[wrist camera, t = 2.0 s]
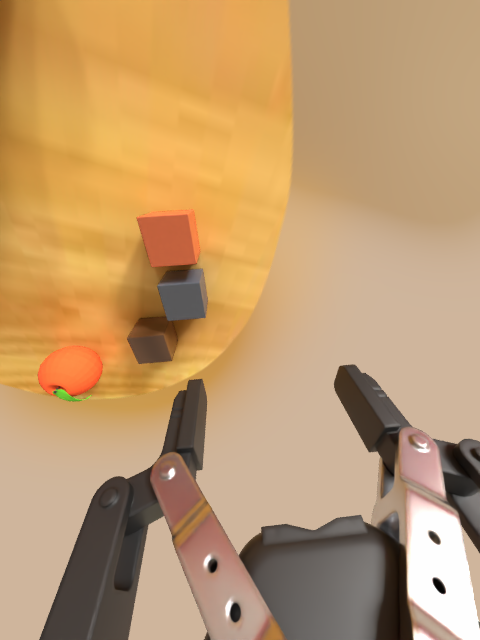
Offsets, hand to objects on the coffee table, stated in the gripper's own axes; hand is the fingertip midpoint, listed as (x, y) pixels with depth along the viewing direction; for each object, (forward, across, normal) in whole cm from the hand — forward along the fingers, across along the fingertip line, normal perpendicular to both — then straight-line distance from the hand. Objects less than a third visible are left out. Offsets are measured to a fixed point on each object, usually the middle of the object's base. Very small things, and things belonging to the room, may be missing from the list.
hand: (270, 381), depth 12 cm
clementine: (+17, +25, +11) cm, 32 cm away
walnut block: (+17, +13, +7) cm, 23 cm away
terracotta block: (+17, +7, -6) cm, 19 cm away
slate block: (+17, +7, +1) cm, 19 cm away
